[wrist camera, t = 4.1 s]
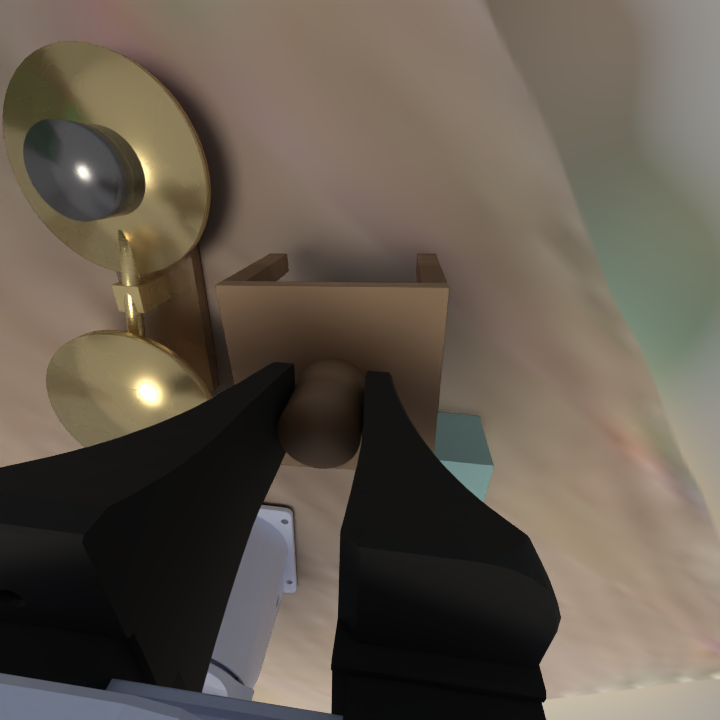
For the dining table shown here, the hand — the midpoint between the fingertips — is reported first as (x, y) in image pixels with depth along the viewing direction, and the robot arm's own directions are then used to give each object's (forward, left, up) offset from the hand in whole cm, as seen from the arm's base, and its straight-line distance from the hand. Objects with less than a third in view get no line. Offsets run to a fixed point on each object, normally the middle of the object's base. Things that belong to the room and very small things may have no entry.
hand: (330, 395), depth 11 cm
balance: (0, +10, -8) cm, 13 cm away
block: (-8, -5, -8) cm, 13 cm away
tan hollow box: (0, 0, -6) cm, 6 cm away
